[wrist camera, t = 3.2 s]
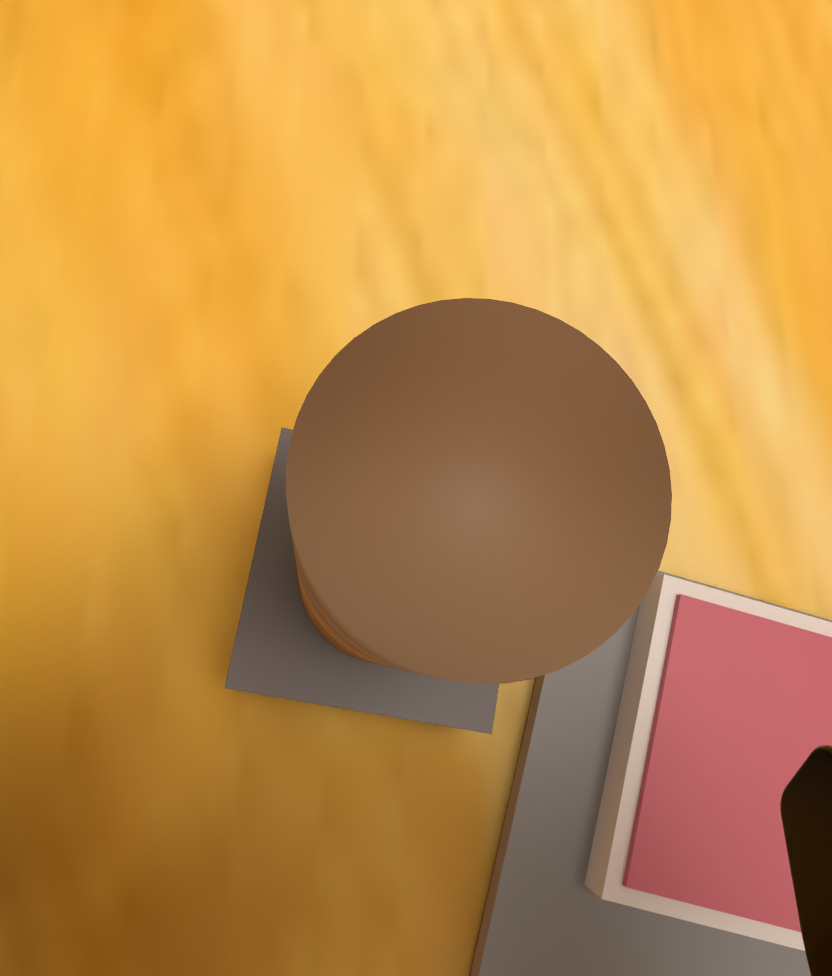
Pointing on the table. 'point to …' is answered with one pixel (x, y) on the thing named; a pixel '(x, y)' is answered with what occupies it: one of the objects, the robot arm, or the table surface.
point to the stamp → (452, 517)
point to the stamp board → (662, 796)
